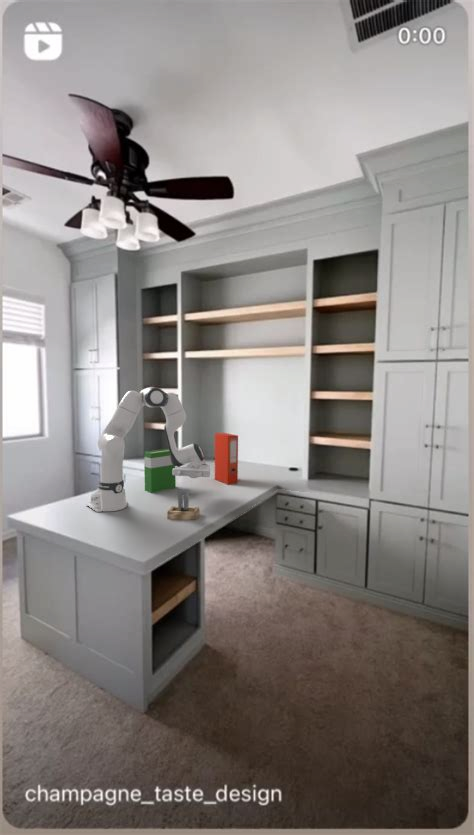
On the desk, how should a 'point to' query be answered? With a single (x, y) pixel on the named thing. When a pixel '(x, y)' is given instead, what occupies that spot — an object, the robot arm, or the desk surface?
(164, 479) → the green box
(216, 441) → the file binder
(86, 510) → the desk surface
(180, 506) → the clip
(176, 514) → the wooden tray
